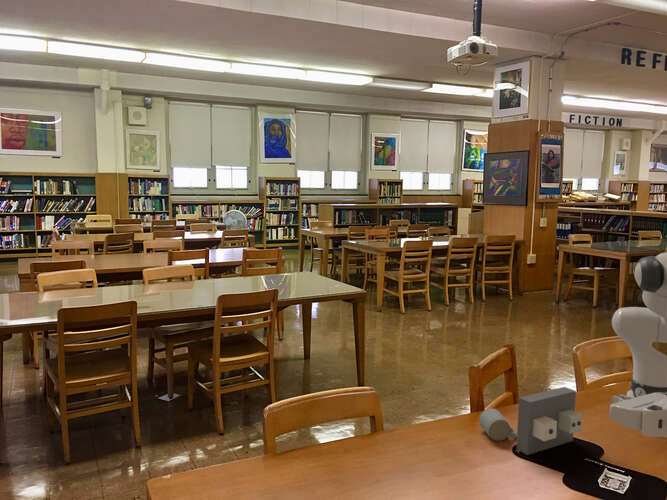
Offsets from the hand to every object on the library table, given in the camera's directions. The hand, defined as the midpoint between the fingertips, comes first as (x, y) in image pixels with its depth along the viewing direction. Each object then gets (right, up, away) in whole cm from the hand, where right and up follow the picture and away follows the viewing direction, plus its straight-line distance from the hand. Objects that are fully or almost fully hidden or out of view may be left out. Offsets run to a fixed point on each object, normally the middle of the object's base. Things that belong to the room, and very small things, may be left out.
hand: (615, 398), depth 137 cm
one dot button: (-13, -16, +15) cm, 25 cm away
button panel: (-10, -20, +22) cm, 31 cm away
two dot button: (-3, -15, +20) cm, 25 cm away
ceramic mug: (-22, -20, +28) cm, 41 cm away
